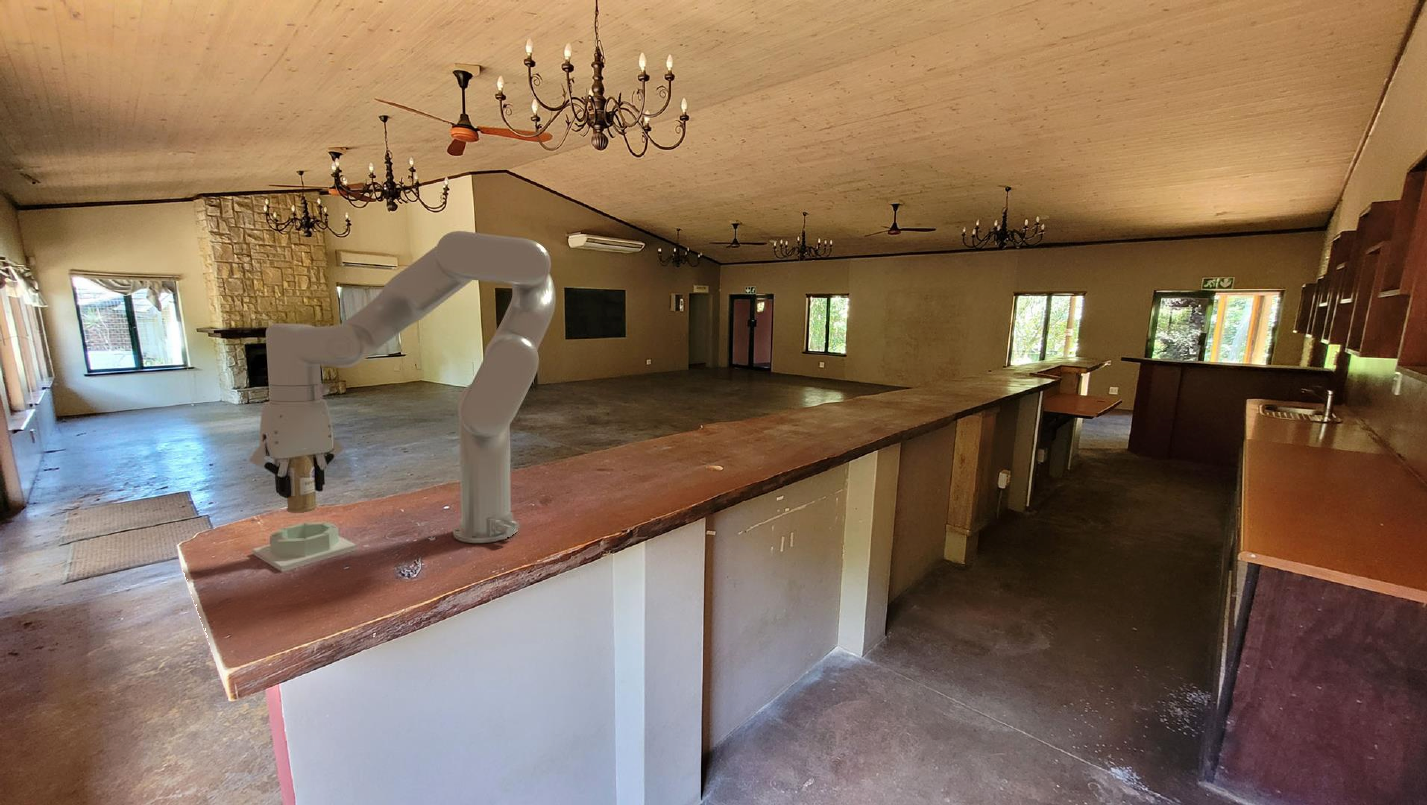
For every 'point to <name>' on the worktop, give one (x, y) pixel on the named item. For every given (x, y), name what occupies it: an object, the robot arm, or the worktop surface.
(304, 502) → the sprinkles bottle
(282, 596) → the worktop surface
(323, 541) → the bottle collar
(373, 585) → the worktop surface
